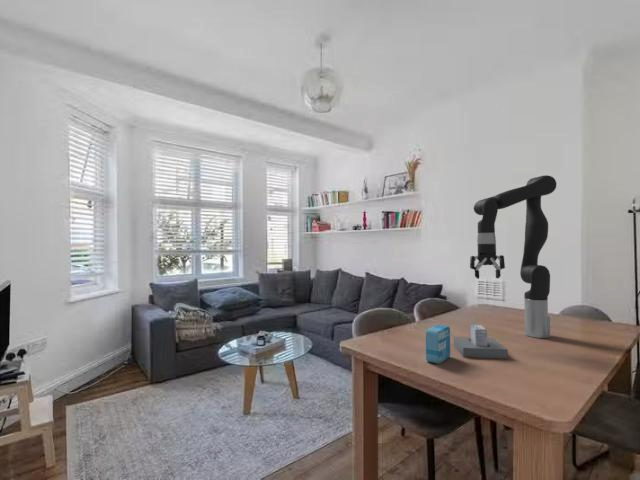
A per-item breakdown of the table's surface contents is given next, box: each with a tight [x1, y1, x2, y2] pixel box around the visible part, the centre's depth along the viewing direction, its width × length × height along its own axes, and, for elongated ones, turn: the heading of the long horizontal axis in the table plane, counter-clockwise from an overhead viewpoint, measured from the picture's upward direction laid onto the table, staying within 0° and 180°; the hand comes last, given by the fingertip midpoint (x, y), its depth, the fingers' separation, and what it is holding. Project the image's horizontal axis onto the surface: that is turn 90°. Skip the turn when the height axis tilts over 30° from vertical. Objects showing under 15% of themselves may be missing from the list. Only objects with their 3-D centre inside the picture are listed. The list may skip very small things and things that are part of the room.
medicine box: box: [470, 324, 488, 347], centre depth 135 cm, size 8×4×9 cm, turn 170°
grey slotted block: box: [453, 336, 509, 360], centre depth 135 cm, size 16×15×4 cm
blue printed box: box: [425, 324, 451, 365], centre depth 126 cm, size 12×4×12 cm, turn 138°
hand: (487, 278), depth 153 cm, fingers open, 8 cm apart
